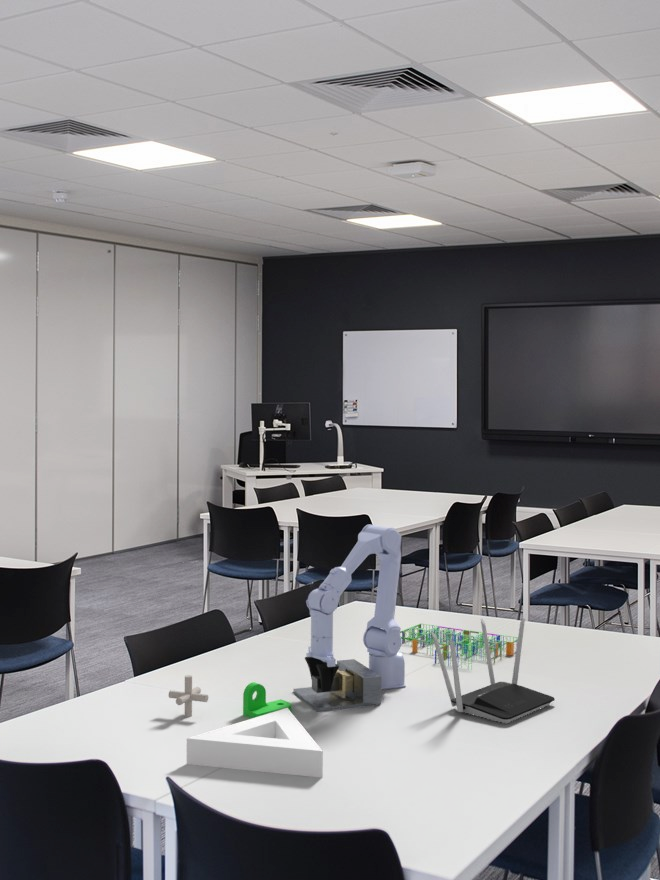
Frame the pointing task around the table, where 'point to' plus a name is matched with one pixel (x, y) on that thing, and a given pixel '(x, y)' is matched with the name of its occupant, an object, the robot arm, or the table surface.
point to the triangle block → (259, 746)
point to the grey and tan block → (336, 683)
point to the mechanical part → (260, 702)
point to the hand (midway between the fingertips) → (321, 687)
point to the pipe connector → (188, 696)
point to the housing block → (363, 694)
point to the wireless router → (493, 689)
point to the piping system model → (449, 635)
